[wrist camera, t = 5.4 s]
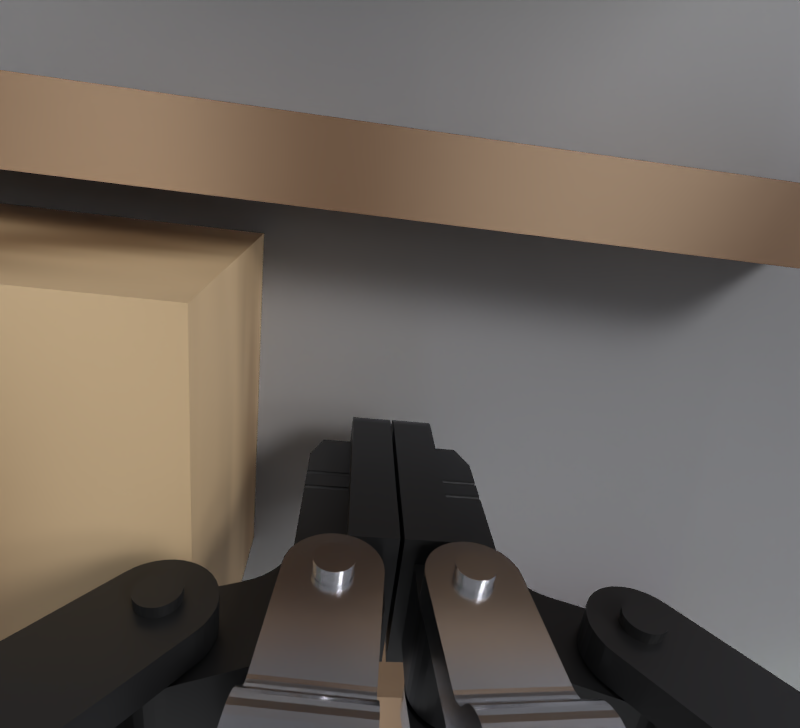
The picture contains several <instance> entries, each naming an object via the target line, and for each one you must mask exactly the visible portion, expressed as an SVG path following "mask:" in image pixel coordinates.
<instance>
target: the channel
mask: <svg viewBox="0 0 800 728" xmlns="http://www.w3.org/2000/svg"><path fill="white" fill-rule="evenodd" d="M0 169H3V170H11V171H19V172H27V173H35V174H43V175H51V176H59V177H67V178H75V179H83V180H91V181H100V182H108V183H116V184H124V185H132V186H140V187H148V188H156V189H164V190H172V191H180V192H188V193H196V194H204V195H212V196H220V197H228V198H236V199H244V200H253V201H261V202H269V203H277V204H285V205H293V206H301V207H309V208H317V209H325V210H333V211H341V212H349V213H357V214H365V215H373V216H381V217H389V218H397V219H406V220H414V221H422V222H430V223H438V224H446V225H454V226H462V227H470V228H478V229H486V230H494V231H502V232H510V233H518V234H526V235H534V236H542V237H550V238H559V239H567V240H575V241H583V242H591V243H599V244H607V245H615V246H623V247H631V248H639V249H647V250H655V251H663V252H671V253H679V254H687V255H695V256H704V257H712V258H720V259H728V260H736V261H744V262H752V263H760V264H768V265H776V266H784V267H792V268H800V183H797V182H790V181H783V180H776V179H769V178H761V177H754V176H747V175H740V174H733V173H726V172H719V171H712V170H705V169H698V168H691V167H683V166H676V165H669V164H662V163H655V162H648V161H641V160H634V159H627V158H620V157H613V156H606V155H598V154H591V153H584V152H577V151H570V150H563V149H556V148H549V147H542V146H535V145H528V144H520V143H513V142H506V141H499V140H492V139H485V138H478V137H471V136H464V135H457V134H450V133H442V132H435V131H428V130H421V129H414V128H407V127H400V126H393V125H386V124H379V123H372V122H365V121H357V120H350V119H343V118H336V117H329V116H322V115H315V114H308V113H301V112H294V111H287V110H279V109H272V108H265V107H258V106H251V105H244V104H237V103H230V102H223V101H216V100H209V99H201V98H194V97H187V96H180V95H173V94H166V93H159V92H152V91H145V90H138V89H131V88H123V87H116V86H109V85H102V84H95V83H88V82H81V81H74V80H67V79H60V78H53V77H46V76H38V75H31V74H24V73H17V72H10V71H3V70H0ZM403 687H404V670H403V662H386V653H385V643H384V650H383V657H382V662H379V672H378V689H377V700H379V701H380V723H379V728H402V725H401V718H400V705H401V699H402V693H403Z"/></svg>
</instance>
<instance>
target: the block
mask: <svg viewBox="0 0 800 728" xmlns="http://www.w3.org/2000/svg"><path fill="white" fill-rule="evenodd" d="M263 250H264V233H256V232H247V231H238V230H230V229H221V228H212V227H203V226H195V225H186V224H177V223H168V222H160V221H151V220H142V219H134V218H125V217H116V216H107V215H99V214H90V213H81V212H72V211H64V210H55V209H46V208H37V207H29V206H20V205H11V204H2V203H0V641H1V640H3V639H5V638H7V637H8V636H10V635H12V634H14V633H16V632H18V631H19V630H21V629H23V628H25V627H27V626H28V625H30V624H32V623H34V622H36V621H37V620H39V619H41V618H43V617H45V616H46V615H48V614H50V613H52V612H54V611H55V610H57V609H59V608H61V607H63V606H64V605H66V604H68V603H70V602H72V601H73V600H75V599H77V598H79V597H81V596H82V595H84V594H86V593H88V592H90V591H91V590H93V589H95V588H97V587H99V586H100V585H102V584H104V583H106V582H108V581H109V580H111V579H113V578H115V577H117V576H118V575H120V574H122V573H124V572H126V571H128V570H130V569H132V568H134V567H137V566H139V565H142V564H145V563H149V562H153V561H159V560H173V559H175V560H185V561H189V562H193V563H196V564H198V565H201V566H202V567H204V568H206V569H207V570H208V571H209V572H210V573H212V574H213V576H214V577H215V579H216V580H217V583H218V586H222V585H227V584H232V583H238V582H242V578H243V574H244V571H245V567H246V564H247V560H248V556H249V553H250V549H251V546H252V542H253V538H254V514H255V485H256V455H257V426H258V397H259V367H260V338H261V309H262V279H263Z"/></svg>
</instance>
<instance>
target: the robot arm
mask: <svg viewBox="0 0 800 728" xmlns="http://www.w3.org/2000/svg"><path fill="white" fill-rule="evenodd" d="M474 483H475V482H474V479H473V476H472V473H471V470H470V466H469V465H468V464H467V463H466V462H465V461H464V460H463V459H462V458H461V457H460V456H459V455H458V454H457V453H456V452H455V451H454V450H446V449H435V445H434V441H433V437H432V432H431V428H430V424H429V423H418V422H407V421H395V420H393V421H392V423H390V420H382V419H370V418H358V417H353V424H352V433H351V442H344V441H332V440H323V441H322V442H321V443H320V444H319V445H318V446H317V447H316V448H315V449H314V450H313V451H312V452H311V453H310V459H309V465H308V470H307V476H306V481H305V488H304V493H303V498H302V504H301V509H300V515H299V521H298V526H297V532H296V537H295V543H294V546H293V547H291V548H290V549H289V550H288V552H287V553H286V555H285V556H284V559H283V561H282V564H281V565H280V566H278V567H277V568H275V569H274V570H272V571H271V572H269V573H267V574H265V575H263V576H260V577H257V578H255V579H251V580H247V581H243V582H238V583H232V584H227V585H222V586H218V583H217V580H216V579H215V577H214V576H213V574H212V573H210V572H209V571H208V570H207V569H206V568H204V567H202V566H201V565H198V564H196V563H193V562H189V561H185V560H175V559H173V560H159V561H153V562H149V563H145V564H142V565H139V566H137V567H134V568H132V569H130V570H128V571H126V572H124V573H122V574H120V575H118V576H117V577H115V578H113V579H111V580H109V581H108V582H106V583H104V584H102V585H100V586H99V587H97V588H95V589H93V590H91V591H90V592H88V593H86V594H84V595H82V596H81V597H79V598H77V599H75V600H73V601H72V602H70V603H68V604H66V605H64V606H63V607H61V608H59V609H57V610H55V611H54V612H52V613H50V614H48V615H46V616H45V617H43V618H41V619H39V620H37V621H36V622H34V623H32V624H30V625H28V626H27V627H25V628H23V629H21V630H19V631H18V632H16V633H14V634H12V635H10V636H8V637H7V638H5V639H3V640H1V641H0V728H379V723H380V701H379V700H377V689H378V672H379V662H382V657H383V650H384V643H385V653H386V662H403V670H404V687H403V693H402V699H401V705H400V718H401V725H402V728H800V692H799V691H798V690H796V689H795V688H793V687H792V686H790V685H788V684H787V683H785V682H784V681H782V680H781V679H779V678H778V677H776V676H775V675H773V674H772V673H770V672H769V671H767V670H766V669H764V668H763V667H761V666H760V665H758V664H757V663H755V662H753V661H752V660H750V659H749V658H747V657H746V656H744V655H743V654H741V653H740V652H738V651H737V650H735V649H734V648H732V647H731V646H729V645H728V644H726V643H725V642H723V641H721V640H720V639H718V638H717V637H715V636H714V635H712V634H711V633H709V632H708V631H706V630H705V629H703V628H702V627H700V626H699V625H697V624H696V623H694V622H693V621H691V620H689V619H688V618H686V617H685V616H683V615H682V614H680V613H679V612H677V611H676V610H674V609H673V608H671V607H670V606H668V605H667V604H665V603H663V602H662V601H660V600H658V599H657V598H655V597H653V596H651V595H649V594H646V593H644V592H641V591H638V590H635V589H631V588H626V587H606V588H602V589H599V590H597V591H596V592H594V593H593V594H592V595H591V596H590V597H589V600H588V602H587V604H586V608H582V607H578V606H575V605H572V604H569V603H565V602H562V601H559V600H556V599H552V598H549V597H546V596H544V595H541V594H539V593H537V592H534V591H532V590H530V589H529V588H527V585H526V583H525V581H524V579H523V577H522V575H521V573H520V571H519V569H518V568H517V567H516V566H515V564H514V563H513V562H512V561H511V560H510V559H508V558H507V557H506V556H504V555H503V554H502V553H500V552H498V551H496V549H495V546H494V542H493V539H492V536H491V533H490V530H489V527H488V523H487V520H486V517H485V514H484V511H483V508H482V504H481V501H480V500H479V495H478V492H477V489H476V486H474Z"/></svg>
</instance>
